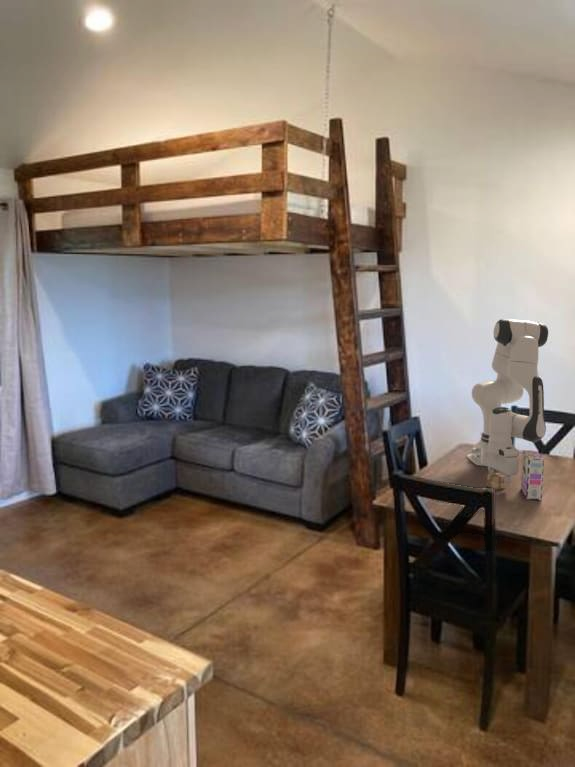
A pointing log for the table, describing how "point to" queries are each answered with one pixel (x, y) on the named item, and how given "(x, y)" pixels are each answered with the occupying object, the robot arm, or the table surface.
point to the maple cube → (495, 481)
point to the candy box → (532, 474)
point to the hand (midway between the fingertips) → (498, 480)
